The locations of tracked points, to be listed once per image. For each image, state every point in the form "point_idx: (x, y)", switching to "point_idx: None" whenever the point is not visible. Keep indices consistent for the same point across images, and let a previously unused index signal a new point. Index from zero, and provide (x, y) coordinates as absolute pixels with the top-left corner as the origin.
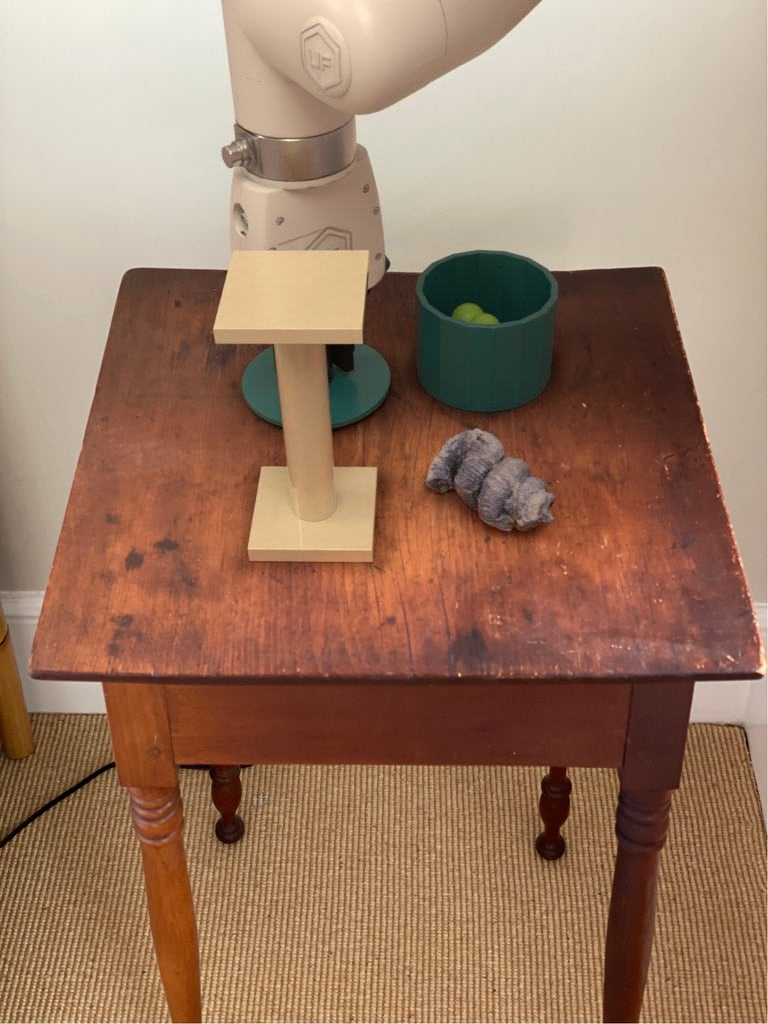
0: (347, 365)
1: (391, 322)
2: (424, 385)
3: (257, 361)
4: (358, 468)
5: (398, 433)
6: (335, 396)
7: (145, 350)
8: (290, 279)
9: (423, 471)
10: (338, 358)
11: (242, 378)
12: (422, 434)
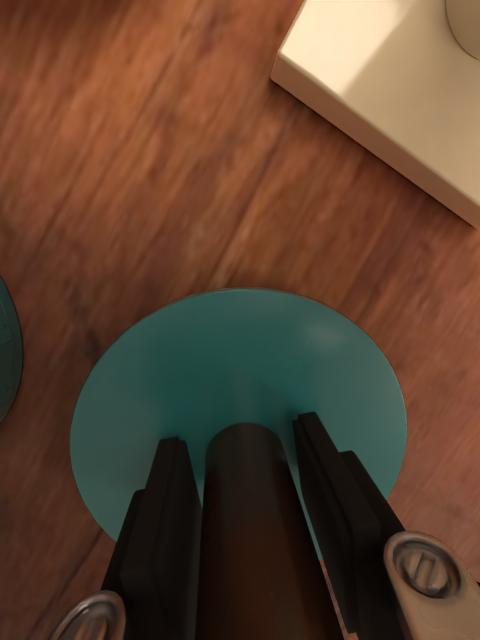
0: (174, 450)
1: (8, 559)
2: (12, 334)
3: None
4: (325, 76)
5: (145, 219)
6: (236, 380)
7: None
8: None
9: (149, 40)
10: (187, 480)
11: None
12: (91, 184)
